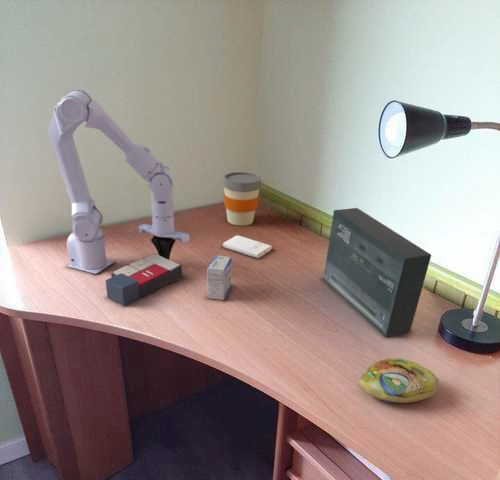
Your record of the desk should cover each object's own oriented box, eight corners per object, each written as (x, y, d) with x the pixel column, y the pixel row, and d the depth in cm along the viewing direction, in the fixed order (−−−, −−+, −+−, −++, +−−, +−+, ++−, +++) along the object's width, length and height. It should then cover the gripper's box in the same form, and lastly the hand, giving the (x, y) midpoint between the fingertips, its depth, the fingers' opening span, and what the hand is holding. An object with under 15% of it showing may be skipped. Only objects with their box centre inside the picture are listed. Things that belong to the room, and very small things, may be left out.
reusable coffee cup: (218, 225, 165) (219, 181, 157) (226, 212, 175) (227, 170, 167) (255, 229, 163) (258, 185, 155) (261, 216, 174) (263, 173, 166)
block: (107, 297, 121) (105, 280, 119) (123, 290, 125) (121, 273, 122) (123, 306, 119) (122, 288, 116) (139, 298, 122) (138, 280, 119)
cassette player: (410, 331, 116) (431, 254, 105) (385, 337, 113) (404, 258, 103) (344, 276, 138) (357, 207, 128) (323, 279, 136) (333, 210, 125)
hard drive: (237, 239, 156) (271, 249, 150) (222, 247, 150) (257, 259, 144) (237, 234, 155) (271, 244, 149) (222, 242, 149) (257, 253, 144)
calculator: (109, 271, 125) (154, 250, 135) (112, 285, 128) (155, 264, 138) (138, 285, 120) (182, 263, 130) (140, 300, 122) (183, 277, 132)
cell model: (450, 399, 92) (386, 381, 87) (423, 421, 97) (361, 404, 92) (432, 355, 100) (372, 336, 95) (408, 377, 105) (349, 360, 100)
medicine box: (223, 301, 123) (224, 270, 118) (206, 298, 124) (207, 267, 119) (231, 286, 130) (232, 256, 125) (214, 284, 130) (215, 254, 126)
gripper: (194, 214, 131) (194, 260, 138) (147, 204, 135) (150, 250, 142) (181, 223, 125) (182, 270, 132) (132, 213, 130) (136, 259, 137)
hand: (165, 260), depth 137 cm, fingers closed
